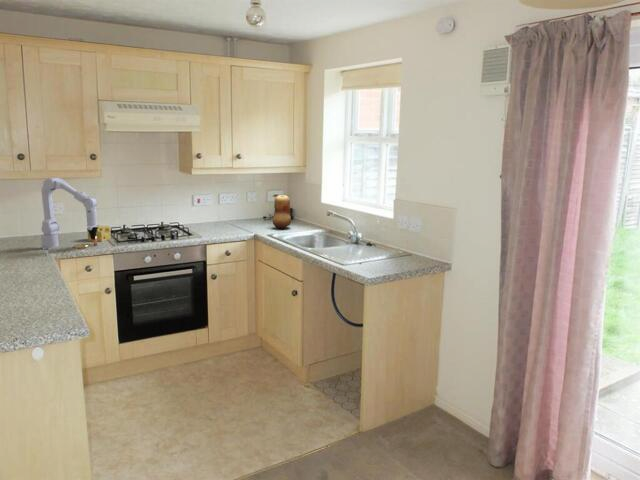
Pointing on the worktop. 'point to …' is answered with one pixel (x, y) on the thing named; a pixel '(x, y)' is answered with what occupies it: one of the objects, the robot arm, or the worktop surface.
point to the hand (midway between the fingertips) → (93, 239)
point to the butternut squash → (282, 212)
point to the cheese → (101, 233)
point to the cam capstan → (86, 244)
